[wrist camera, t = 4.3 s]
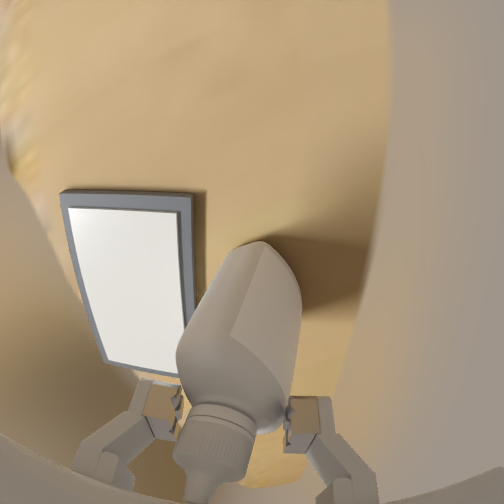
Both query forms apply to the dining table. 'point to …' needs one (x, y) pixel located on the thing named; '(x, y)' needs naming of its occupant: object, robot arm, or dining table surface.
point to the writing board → (138, 201)
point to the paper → (132, 282)
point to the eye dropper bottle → (236, 366)
